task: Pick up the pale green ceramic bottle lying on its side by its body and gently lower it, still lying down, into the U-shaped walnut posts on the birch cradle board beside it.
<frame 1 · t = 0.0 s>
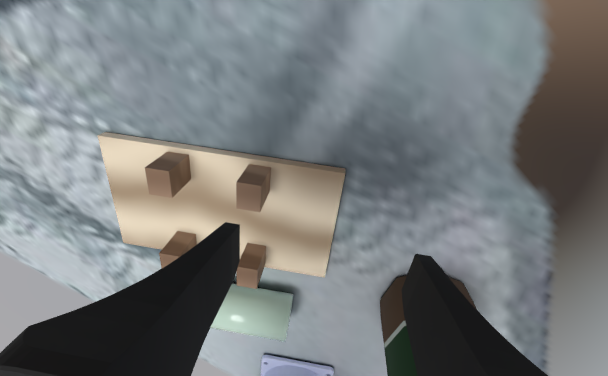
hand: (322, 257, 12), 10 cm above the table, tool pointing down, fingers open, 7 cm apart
beer bottle: (422, 298, 27), on the table
bottle: (240, 308, 27), point 2 cm above the table
cradle: (224, 207, 24), on the table
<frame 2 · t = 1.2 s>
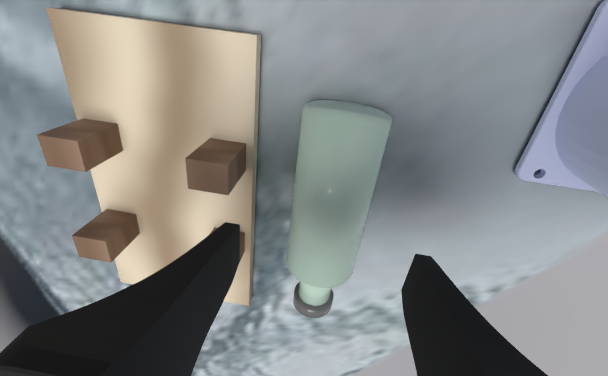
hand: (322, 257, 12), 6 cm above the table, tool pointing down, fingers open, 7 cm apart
bottle: (331, 197, 16), point 2 cm above the table
cradle: (177, 184, 19), on the table
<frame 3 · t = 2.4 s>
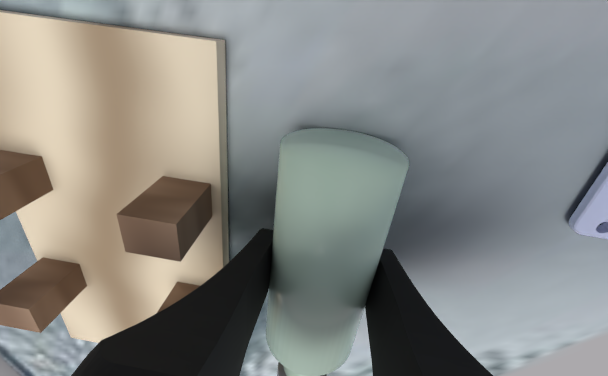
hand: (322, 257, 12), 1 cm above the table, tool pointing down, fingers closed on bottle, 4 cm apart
bottle: (323, 257, 12), point 2 cm above the table, touching gripper
cradle: (130, 228, 15), on the table
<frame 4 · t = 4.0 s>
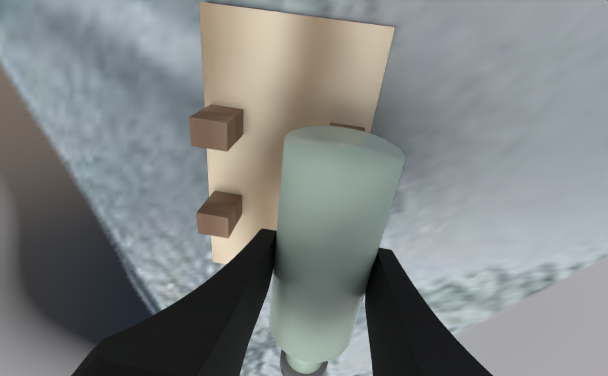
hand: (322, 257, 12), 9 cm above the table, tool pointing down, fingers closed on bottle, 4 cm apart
bottle: (324, 249, 12), point 9 cm above the table, touching gripper
cradle: (283, 167, 20), on the table
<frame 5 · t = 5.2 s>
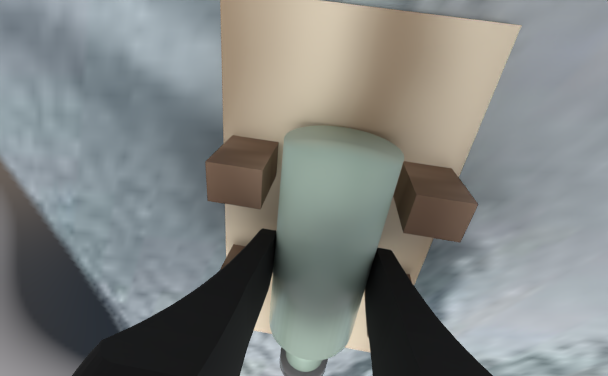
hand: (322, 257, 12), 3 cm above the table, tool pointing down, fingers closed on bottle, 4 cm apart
bottle: (324, 247, 12), point 3 cm above the table, touching gripper
cradle: (327, 215, 15), on the table
when the fingers open (2 cm above the table, at t = 5.8 s): bottle stays where it is, resting on cradle.
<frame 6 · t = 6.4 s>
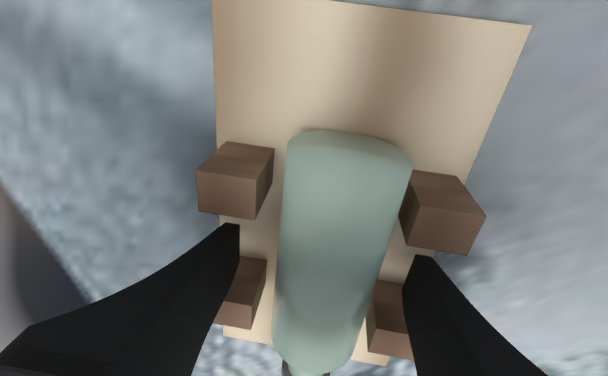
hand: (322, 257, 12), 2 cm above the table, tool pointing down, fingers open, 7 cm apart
bottle: (328, 257, 12), point 3 cm above the table, tilted 7°, touching cradle
cradle: (326, 223, 14), on the table
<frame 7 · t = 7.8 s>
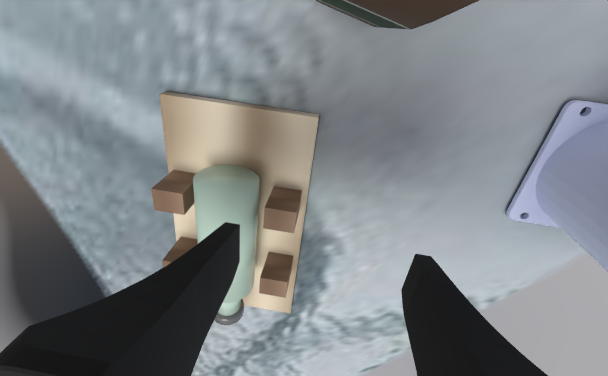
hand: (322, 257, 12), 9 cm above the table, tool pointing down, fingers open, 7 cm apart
bottle: (227, 235, 21), point 3 cm above the table, touching cradle
cradle: (240, 217, 23), on the table
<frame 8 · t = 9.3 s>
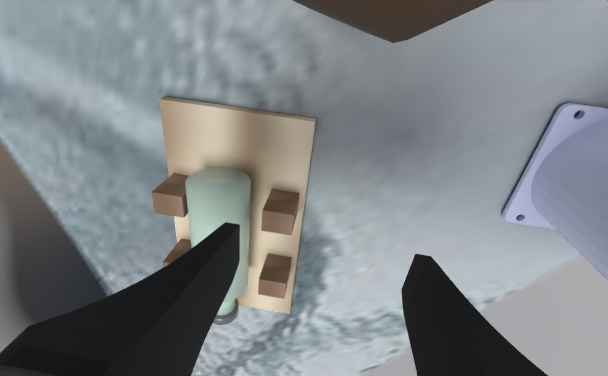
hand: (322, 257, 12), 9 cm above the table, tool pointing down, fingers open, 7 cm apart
bottle: (220, 236, 21), point 3 cm above the table, tilted 12°, touching cradle
cradle: (239, 220, 24), on the table
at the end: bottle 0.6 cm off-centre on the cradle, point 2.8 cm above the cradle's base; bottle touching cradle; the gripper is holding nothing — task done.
